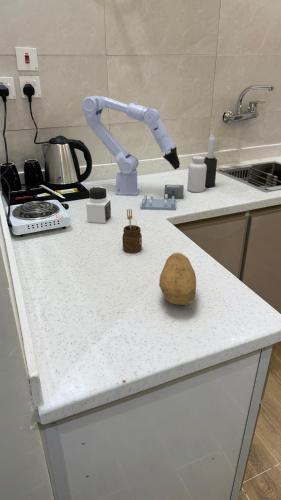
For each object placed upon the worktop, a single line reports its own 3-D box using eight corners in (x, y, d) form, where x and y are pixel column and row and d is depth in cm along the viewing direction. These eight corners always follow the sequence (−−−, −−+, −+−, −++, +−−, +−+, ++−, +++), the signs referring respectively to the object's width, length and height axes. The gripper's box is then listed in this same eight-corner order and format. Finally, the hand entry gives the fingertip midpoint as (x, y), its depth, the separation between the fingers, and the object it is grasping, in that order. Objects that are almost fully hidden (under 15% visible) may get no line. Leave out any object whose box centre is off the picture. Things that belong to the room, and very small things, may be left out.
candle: (200, 185, 170) (204, 130, 159) (209, 184, 172) (214, 130, 161) (206, 188, 166) (211, 132, 155) (215, 186, 168) (220, 131, 156)
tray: (140, 209, 141) (140, 200, 140) (142, 200, 150) (142, 192, 149) (175, 210, 140) (175, 201, 139) (175, 201, 149) (176, 193, 147)
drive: (164, 199, 153) (164, 187, 150) (164, 195, 157) (164, 184, 154) (183, 199, 152) (183, 187, 150) (182, 196, 156) (183, 184, 154)
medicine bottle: (106, 223, 128) (104, 191, 123) (87, 222, 130) (84, 190, 124) (111, 216, 134) (109, 185, 129) (93, 215, 136) (91, 184, 130)
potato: (156, 315, 80) (157, 280, 76) (161, 279, 94) (162, 247, 90) (195, 317, 79) (198, 282, 75) (194, 281, 93) (196, 249, 89)
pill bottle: (206, 192, 160) (208, 159, 153) (188, 192, 160) (190, 159, 153) (203, 187, 167) (206, 155, 160) (186, 187, 167) (188, 155, 160)
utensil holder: (125, 254, 107) (124, 217, 101) (120, 245, 112) (119, 209, 107) (144, 252, 108) (144, 215, 103) (138, 243, 114) (138, 207, 108)
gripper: (170, 133, 138) (186, 164, 142) (171, 131, 152) (186, 159, 155) (154, 142, 140) (170, 173, 144) (157, 139, 154) (171, 167, 157)
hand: (177, 166), depth 150 cm, fingers open, 7 cm apart
